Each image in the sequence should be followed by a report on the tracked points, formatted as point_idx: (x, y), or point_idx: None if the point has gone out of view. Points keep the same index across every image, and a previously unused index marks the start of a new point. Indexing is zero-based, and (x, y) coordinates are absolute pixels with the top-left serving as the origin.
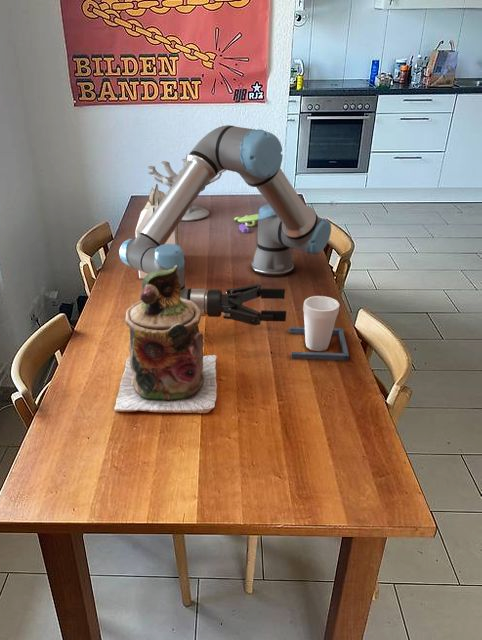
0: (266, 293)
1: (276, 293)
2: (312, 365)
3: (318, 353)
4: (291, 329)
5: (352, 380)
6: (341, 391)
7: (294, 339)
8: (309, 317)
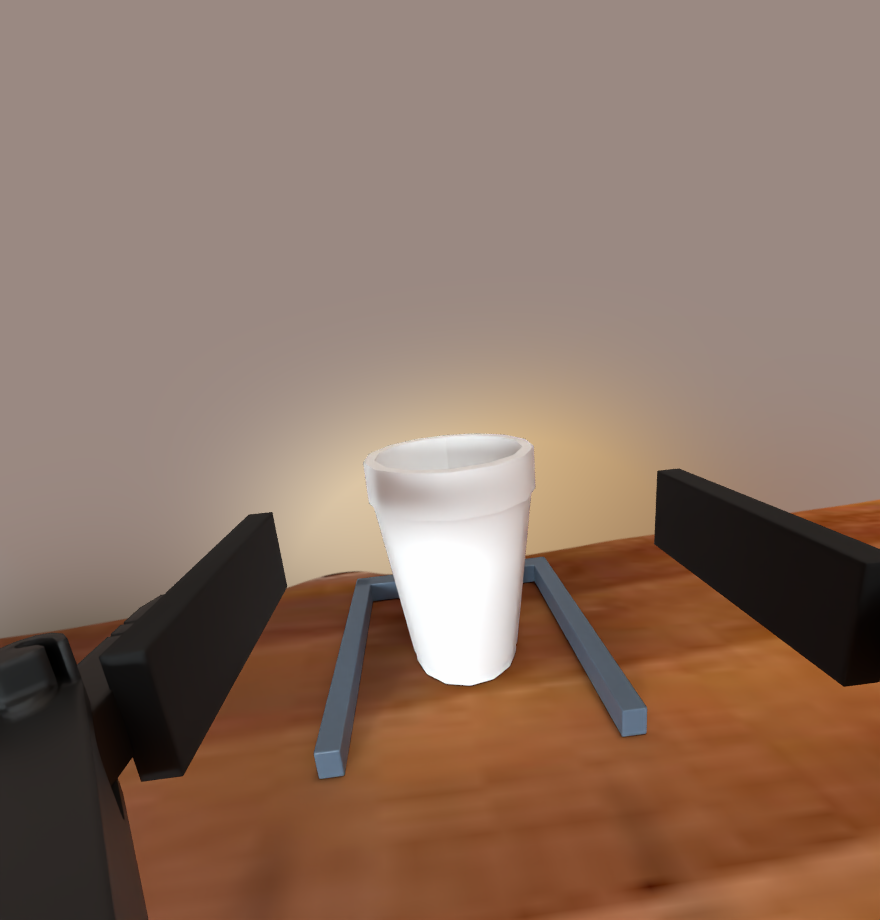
0: (203, 650)
1: (253, 579)
2: (645, 647)
3: (573, 616)
4: (341, 744)
5: (657, 560)
6: None
7: (420, 741)
8: (518, 508)
